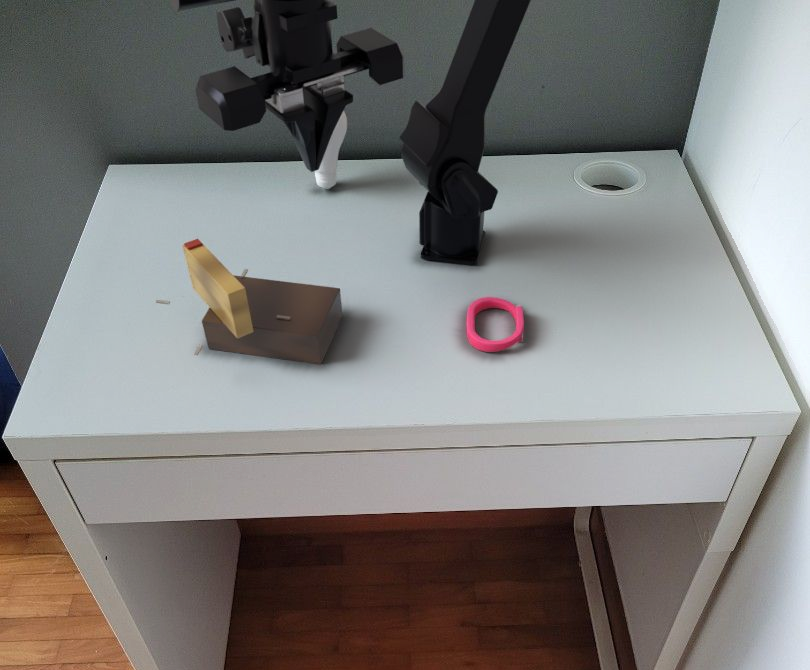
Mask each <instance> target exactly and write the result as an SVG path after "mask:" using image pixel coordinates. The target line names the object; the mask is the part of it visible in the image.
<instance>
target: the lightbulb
mask: <svg viewBox="0 0 810 670" xmlns="http://www.w3.org/2000/svg"><path fill="white" fill-rule="evenodd" d="M347 131H348V118H347V115H346V112H345V109H344V110H343V113H342V115H341V117H340V119H339V121H338V123H337V125H336V127H335V129H334V131H333V133H332V136H331V138H330V141H329V144H328V146H327V149H326V152H325V154H324V157H323V160H322V162H321V165H320V168H319V170H316V171H314V175H315V182H316V185H317V186H318V187H320V188H323V189H324V190H330V189H331V188H332V187H335V186H336V184H337V182H338V180H337V178H338V177H337V176H338V175H337V169H338V167H339V153H340V149H341V146H342V144H343V142H344V140H345V137H346V135H347Z"/></svg>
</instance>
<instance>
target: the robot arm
mask: <svg viewBox="0 0 810 670" xmlns="http://www.w3.org/2000/svg"><path fill="white" fill-rule="evenodd" d="M234 1H236V0H169V2H170V4H171V6H172V8H173V9H174V10H175V11H176V12H181V11H186V10H190V9H196V8H202V7H207V6H213V5H218V4H223V3H224V4H225V3H228V2H234ZM531 2H532V0H474V1H473V3H472V7H471V10H470V12H469V15H468V18H467V21H466V23H465V24H464V25H465V26H464V28H463V31H462V33H461V36H460V39H459V42H458V44H457V47H456V49H455V52H454V55H453V57H452V61H451V62H450V65H449V68H448V70H447V73H446V76H445V79H444V81H443V84H442V86H441V89H440V90H439V92H438V93H437V94H436V95H435V96H433V98H432V99H431V100H429V101H428V103H427V104H424V103H421V102H420V101H419V100H416V101H414V102H413V104H412V106H411V109H410V113H409V118H408V122H407V124H406V126H405V128H404V130H403V131H402V133H401V134H400V136H399V137H398V138H399V140H400V141H401V142H402V147H401V150H400V151H401V152H400V153H401V159H402V161H403V165H404V166H405V169H406V170H407V171H408V172H409V173H410V174H411V175H412V176H413V177H414V178H415V179H416V180H417V181H418V184H420V185H421V186H422V187H423V188H424V189H425V190H426V191H427V192H426V195H425V197H424V200H423V202H422V205H421V207H420V209H419V213H418V215H419V219H418V222H419V224H418V226H419V228H418V229H419V231H418V233H419V234H418V235H419V236H418V237H419V245H420V246H422V249H421V251H420V259H422V260H428V261H435V262H442V263H443V262H445V263H453V264H461V265H462V264H463V265H471V266H474V265H477V264H478V262H479V260H480V256H481V253H482V249H483V247H484V242H485V239H486V236H487V232H486V231H485V230H484V224H485V212H487V211H491V210H492V209H493V207H494V204H495V202H496V199H497V196H498V194H499V190H498V189H497V188H496V187H495V185H493V184H492V183H491V181H489V180H488V179H487V178H486V177H485V176H484V175H482V174H481V173H480V171H479V169H480V166H481V164H482V163H481V162H482V158H483V155H484V152H485V129H486V128H485V126H486V125H485V122H486V121H485V119H486V118H485V117H486V112H487V108H488V106H489V104H490V101H491V99H492V96H493V94H494V91H495V89H496V87H497V84H498V82H499V80H500V77H501V74H502V73H503V70H504V67H505V65H506V62H507V61H508V58H509V55H510V53H511V50H512V48H513V45H514V44H515V41H516V38H517V36H518V33H519V32H520V28H521V27H522V23H523V21H524V19H525V16H526V14H527V11H528V9H529V8H530V4H531ZM253 11H254V15H251V16H245V15H244V12H243V10H242V8H241V7H239V6H237V7H233V8H229V9H224V10H221V11H217V12H216V13H215V14H216V22H217V30H218V35H219V39H220V41H221V45H222V47H223V49H224V51H225V52H226V53H229V52H230V53H231V52H236V51H239V50H241V51H242V53H243V58H244V59H245V60H246V59H250V58H252V57H255V62H256V63H257V64H258V65H260V66H261V67H266V66H267V67H269V72H267V73H263V74H259V75H256V76H252V77H250V76H248V75H247V74H246V73H245V72H243V71H242V70H240V69H239V68H238V67H236V66H235V65H234V66H231V67H230V66H229V67H227V68H224V69H220V70H216V71H213V72H210V73H205V74H202V75H200V76H199V78H198V81H197V84H196V87H195V95H196V100H197V106H198V109H199V110H200V111H201V112H202V113H203V114H204V115H206V116H207V117H208V118H209V119H211V120H212V122H214V123H215V124H216V125H217V126H219V127H220V128H221V129H222V130H223V131H230V132H234V131H237V130H240V129H244V128H247V127H251V126H254V125H256V124H259V123H261V121H262V119H263V118H264V116H265V114H266V112H267V110H268V112H269V113H271V114H273V115H274V116H275V117H277V118H278V119H279V120H281V121H282V123H284V125H285V127H286V128H287V130H288V132H289V134H290V136H291V138H292V141H293V142H294V145H295V147H296V149H297V151H298V154H299V155H300V157H301V159H302V161H303V164H304V166H305V168H306V170H308V171H309V172H310V173H313V172H315V171H316V170H319V168H320V165H321V162H322V160H323V157H324V154H325V152H326V149H327V146H328V144H329V141H330V138H331V136H332V133H333V131H334V129H335V127H336V125H337V123H338V121H339V119H340V117H341V115H342V113H343V110H344V111H345V109H346V106H347V105H351V104H352V103H353V102H354V95H353V94H352V93H351V92H349V91H348V90H347V89H346V83H345V82H346V81H345V79H346V78H345V77H346V76H350V75H353V74H357V73H361V72H364V71H366V70H368V77H369V78H370V79H371V80H373V81H374V82H375V83H376V84H377V85H379V86H382V85H385V84H389V83H391V82H392V83H393V82H395V81H398V80H399V81H400V80H401V79H404V78H405V75H406V74H405V73H406V71H405V65H406V64H405V54H404V52H403V49H402V47H401V46H400V44H398V42H396V41H395V40H393V39H392V38H389V37H388V36H386V35H384V34H383V33H381V32H379V31H378V30H377V29H374V28H372V27H369V28H366V29H365V28H364V29H362V30H359V31H355V32H350V33H348V34H344V35H341V36H340V37H339V38H338V40H337V42H336V53H334V51H333V38H332V27H331V26H332V25H331V21H334V20H337V19H338V7H337V4H335V3H334V2H332V1H330V0H253Z"/></svg>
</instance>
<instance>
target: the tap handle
mask: <svg viewBox="0 0 810 670" xmlns="http://www.w3.org/2000/svg"><path fill="white" fill-rule="evenodd" d="M182 249H183V254H184V259H185V262H186V265H187V269H188V270H187V271H188V274H189V278H190V282H191V285H192V290H194V292H196V294H197V295H198V296H199V297H200V299H202V300H203V302H205V304H206V305H207V306H208V307H209V308H211V309H212V311H213V312H214V313H215V314H216V315H217V316H218V317H219V318H220V320H221V321H222V322H223V323H224V324H225V325H226V326H227V327H228V329H229V330H230V331H231V332H232V333H233V334H234V335H235V336H236V338H240V337H242V336H245V335H247V334H250V333H252V332H254V331H253V326H252V321H251V316H250V310H249V305H248V300H247V295H246V290H245V287H244V286H243V285H242V284H241V283H240V282H239V281H238V280H237V279H236V278H235V277H234V276H233V275H234V274H232V273H231V272H230V271H229V269H228V268H227V267H226V266H225V265H224V264H223V263H222V262H221V261H220V260H219V259H218V258H217V256H215V255H214V254H213V253H212V252H211V250H209V248H208V247H206V245H205V244H204V243H203V242H202V241H201V240H200V239H199V238H195V239H192V240H190V241H187V242H184V243H183V245H182Z"/></svg>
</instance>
